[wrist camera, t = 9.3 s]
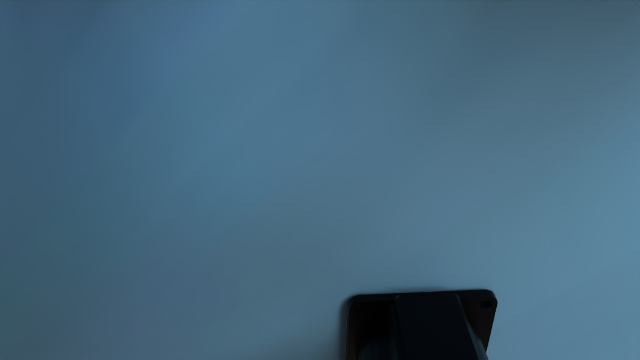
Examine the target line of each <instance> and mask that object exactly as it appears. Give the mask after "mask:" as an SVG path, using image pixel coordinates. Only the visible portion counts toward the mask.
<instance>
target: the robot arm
mask: <svg viewBox="0 0 640 360" xmlns="http://www.w3.org/2000/svg"><path fill="white" fill-rule="evenodd" d="M485 300H487V301H486V302H483V301H485ZM358 306H363V307H360V308H359V307H358ZM496 308H497V299H496V297H495V294H494V293H493V292H492V291H490V290H464V291H440V292H417V293H393V294H369V295H357V296H354V297H352V298H351V299H350V300H349V303H348V318H347V341H346V360H488V357H487V355H486V351H487V347H488V342H489V338H490V334H491V329H492V325H493V321H494V316H495V312H496Z"/></svg>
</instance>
